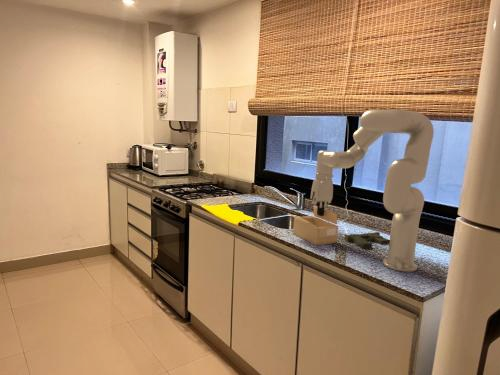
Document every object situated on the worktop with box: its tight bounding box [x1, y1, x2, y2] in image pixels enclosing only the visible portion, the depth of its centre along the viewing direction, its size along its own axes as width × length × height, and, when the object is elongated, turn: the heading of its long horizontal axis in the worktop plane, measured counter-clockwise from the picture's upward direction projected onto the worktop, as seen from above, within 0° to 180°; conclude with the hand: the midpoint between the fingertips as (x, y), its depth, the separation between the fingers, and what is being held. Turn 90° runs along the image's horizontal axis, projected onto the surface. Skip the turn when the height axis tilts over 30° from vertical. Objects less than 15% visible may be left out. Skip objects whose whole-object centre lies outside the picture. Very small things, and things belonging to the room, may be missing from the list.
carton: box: [292, 215, 339, 246], centre depth 175 cm, size 19×12×8 cm, turn 28°
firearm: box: [343, 231, 390, 250], centre depth 175 cm, size 3×24×15 cm
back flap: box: [312, 205, 338, 225], centre depth 176 cm, size 16×5×1 cm
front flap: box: [287, 212, 317, 227], centre depth 170 cm, size 16×5×1 cm, turn 28°
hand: (320, 215), depth 175 cm, fingers closed
